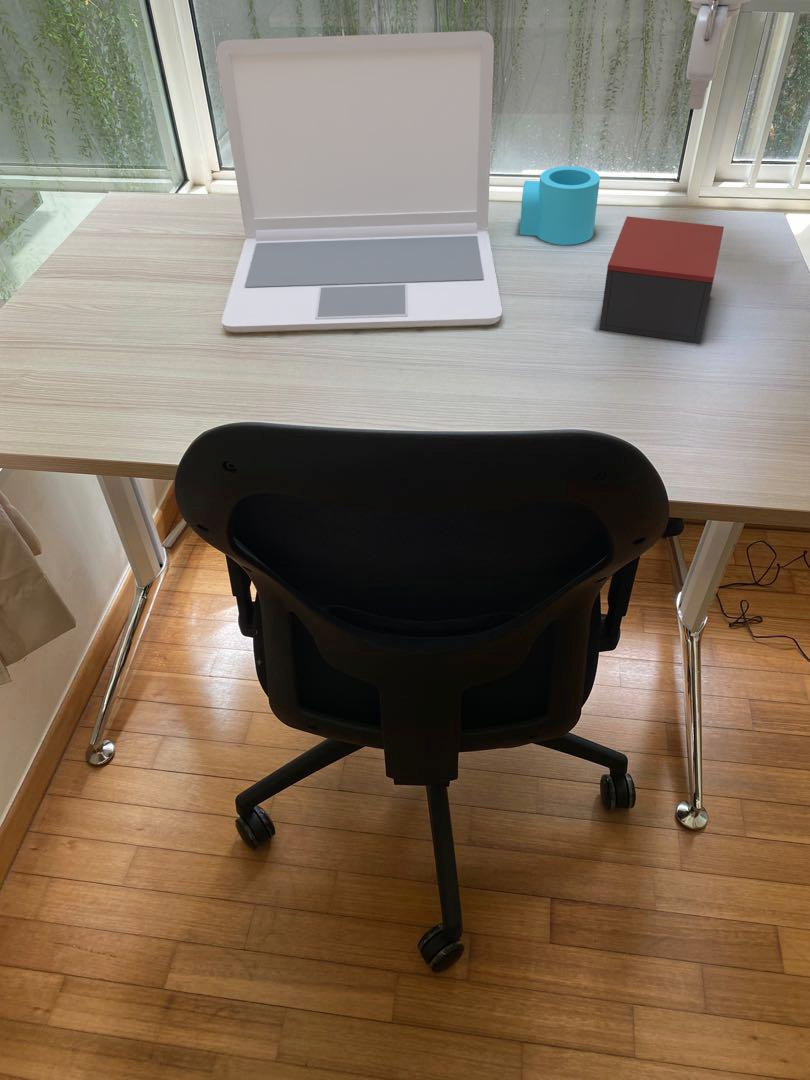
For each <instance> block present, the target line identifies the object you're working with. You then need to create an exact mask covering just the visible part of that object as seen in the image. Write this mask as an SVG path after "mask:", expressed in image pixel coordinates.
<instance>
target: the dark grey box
mask: <svg viewBox="0 0 810 1080" xmlns="http://www.w3.org/2000/svg"><path fill="white" fill-rule="evenodd" d="M605 275H606V277H605V284H604V290H603V299H602V307H601V314H600V321H599V327H598V329H599V330H601V331H609V332H617V333H623V334H630V335H638V336H644V337H651V338H659V339H665V340H672V341H680V342H688V343H695V344H700V342H701V337H702V333H703V329H704V325H705V324H704V323H705V320H706V316H707V311H708V308H709V307H708V306H709V303H710V302H709V301H710V298H711V292H712V289H713V285H714V282H713V283H710V282H702V281H694V280H685V279H677V278H669V277H661V276H653V275H645V274H636V273H628V272H620V271H612V270H607V269H606V274H605Z"/></svg>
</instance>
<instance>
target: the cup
mask: <svg viewBox="0 0 810 1080" xmlns="http://www.w3.org/2000/svg"><path fill="white" fill-rule="evenodd" d="M600 181H601V176H600V175H599V173H597V172H596V171H594V170H592V169H590V168H587V167H580V166H570V165H569V166H557V167H556V166H555V167H552V168H548V169H546V170H544V171H543V172H541V173H540V176H539V180H524V182H523V187H522V194H521V195H522V196H521V206H520V207H521V208H520V222H519V235H520V236H536V237H538V238H539V239H540V240H541V241H544V242H547V243H550V244H554V245H558V246H559V245H560V246H574V245H579V244H582V243H586V242H588V241H589V240H591V239H592V238H593V236H594V232H595V231H594V230H595V223H596V214H597V205H598V198H599V189H600Z"/></svg>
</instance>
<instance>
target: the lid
mask: <svg viewBox="0 0 810 1080" xmlns="http://www.w3.org/2000/svg"><path fill="white" fill-rule="evenodd" d="M724 229H725V226H722V225H715V224H704V223H695V222H687V221H686V222H685V221H677V220H676V221H675V220H666V219H658V218H657V219H656V218H646V217H637V216H629V215H627V216H626V218H625V220H624V222H623V225H622V228H621V230H620V233H619V235H618V237H617V240H616V243H615V246H614V248H613V251H612V253H611V256H610V258H609V261H608V264H607V268H606V271H607V270H612V271H620V272H628V273H636V274H645V275H653V276H661V277H669V278H677V279H685V280H694V281H702V282H710V283H713V284H714V280H715V275H716V270H717V265H718V261H719V254H720V249H721V244H722V239H723V233H724Z"/></svg>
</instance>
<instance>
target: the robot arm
mask: <svg viewBox="0 0 810 1080" xmlns="http://www.w3.org/2000/svg"><path fill="white" fill-rule="evenodd" d="M686 1H688V2H690V8H689V12H690V13H691V14H692V15H694V16H696V19H695V22H694V28H693V31H692V33H693V34H692V37H691V43H690V49H689V54H688V60H687V65H686V74H685V75H686V79H687V80H689V81H691V84H690V85H691V86H690V97H689V102H688V103H689V104H688V107H689V109H691V110H697V111H700V110H701V109H702V108H703V106H704V101H705V96H706V92H707V88H708V87H709V85H710V82H711V81H713V80H714V79H715V76H716V73H717V70H718V67H719V62H720V59H721V56H722V51H723V47H724V43H725V41H726V38H727V34H728V32H729V29H730V26H731V22H732V18H733V17H734V16H737V15H739V14H740V12H741V6H742V4H746V3H748V2H750V1H751V0H686Z"/></svg>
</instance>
